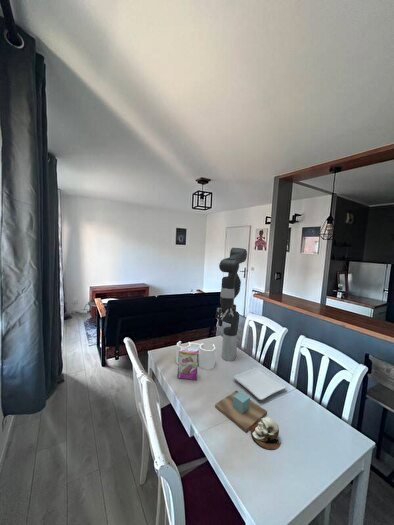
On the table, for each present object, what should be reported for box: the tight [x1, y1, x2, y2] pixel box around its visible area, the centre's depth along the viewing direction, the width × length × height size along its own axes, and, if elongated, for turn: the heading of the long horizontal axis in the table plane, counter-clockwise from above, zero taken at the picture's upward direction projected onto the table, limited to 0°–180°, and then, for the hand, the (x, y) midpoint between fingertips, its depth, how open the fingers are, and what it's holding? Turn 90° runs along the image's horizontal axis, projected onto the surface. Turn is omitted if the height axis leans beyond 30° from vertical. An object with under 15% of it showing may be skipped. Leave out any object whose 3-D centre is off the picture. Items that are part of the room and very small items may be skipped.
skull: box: [250, 416, 282, 450], centre depth 91 cm, size 12×10×10 cm
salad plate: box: [232, 366, 288, 401], centre depth 123 cm, size 21×21×3 cm
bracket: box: [175, 340, 216, 371], centre depth 141 cm, size 25×10×12 cm, turn 82°
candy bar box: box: [177, 348, 199, 381], centre depth 127 cm, size 11×5×16 cm, turn 84°
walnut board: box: [214, 389, 268, 433], centre depth 104 cm, size 16×18×2 cm
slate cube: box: [233, 391, 251, 414], centre depth 104 cm, size 6×6×6 cm
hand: (225, 324), depth 123 cm, fingers open, 8 cm apart
